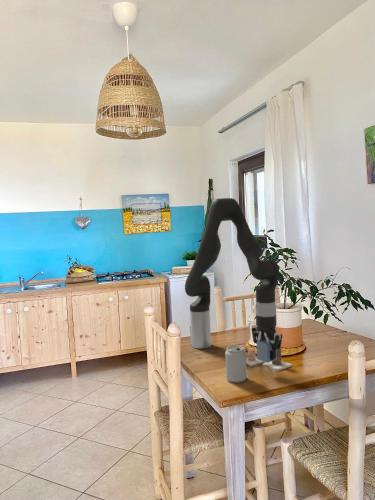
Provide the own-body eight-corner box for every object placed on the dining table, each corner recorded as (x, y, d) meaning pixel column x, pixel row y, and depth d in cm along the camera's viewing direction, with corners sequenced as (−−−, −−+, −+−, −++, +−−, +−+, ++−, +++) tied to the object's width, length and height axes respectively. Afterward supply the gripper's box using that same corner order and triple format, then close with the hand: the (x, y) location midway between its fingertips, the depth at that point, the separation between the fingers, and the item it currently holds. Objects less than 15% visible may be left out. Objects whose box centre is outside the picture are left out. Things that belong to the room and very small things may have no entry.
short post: (239, 361, 163) (239, 350, 163) (252, 357, 167) (251, 346, 166) (251, 366, 157) (251, 354, 157) (264, 361, 161) (263, 350, 161)
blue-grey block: (257, 358, 148) (256, 341, 148) (266, 355, 151) (266, 338, 151) (267, 362, 144) (266, 344, 143) (277, 359, 147) (276, 341, 146)
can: (248, 382, 141) (247, 350, 140) (228, 384, 141) (226, 351, 140) (244, 374, 149) (242, 343, 148) (224, 376, 148) (223, 345, 147)
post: (262, 365, 157) (261, 348, 157) (276, 360, 162) (275, 344, 161) (277, 371, 150) (276, 353, 150) (291, 366, 155) (290, 348, 154)
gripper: (245, 311, 150) (246, 354, 151) (273, 318, 138) (274, 365, 139) (259, 308, 154) (260, 350, 156) (287, 315, 142) (288, 360, 144)
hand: (267, 357), depth 147 cm, fingers closed on blue-grey block, 5 cm apart
